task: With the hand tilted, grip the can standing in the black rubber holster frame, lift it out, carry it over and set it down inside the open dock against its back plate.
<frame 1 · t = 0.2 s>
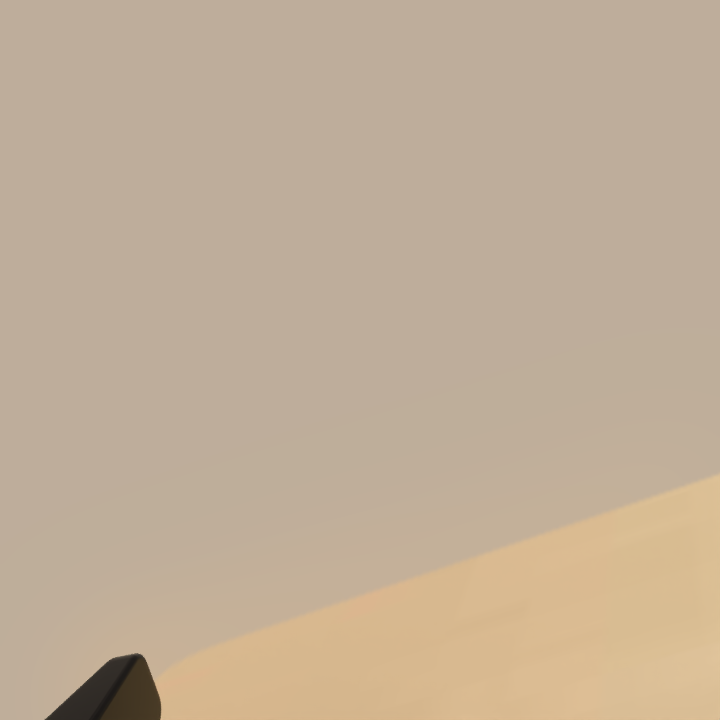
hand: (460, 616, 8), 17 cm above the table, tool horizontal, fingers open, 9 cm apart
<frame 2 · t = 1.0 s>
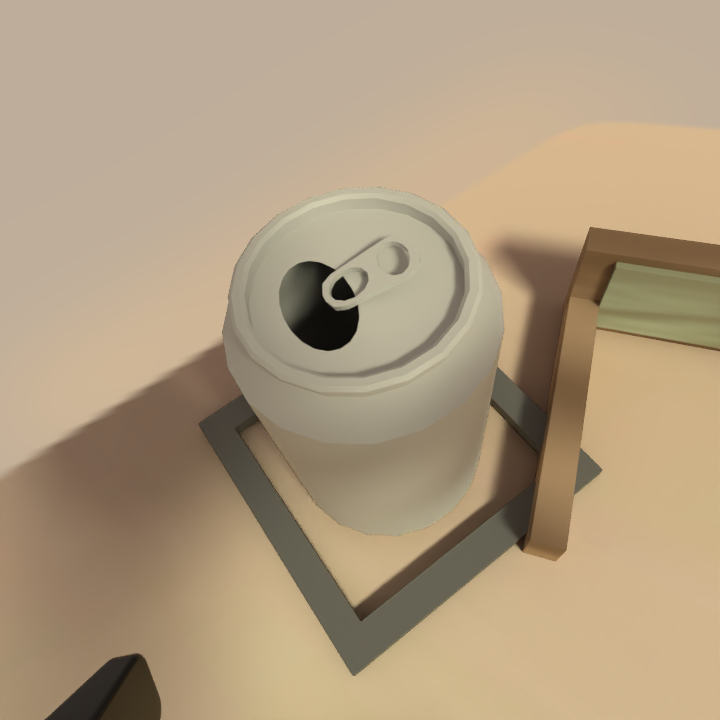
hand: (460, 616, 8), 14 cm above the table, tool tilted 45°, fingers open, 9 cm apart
holster frame: (388, 450, 24), on the table
dock: (707, 455, 22), on the table
can: (388, 452, 24), resting in holster frame
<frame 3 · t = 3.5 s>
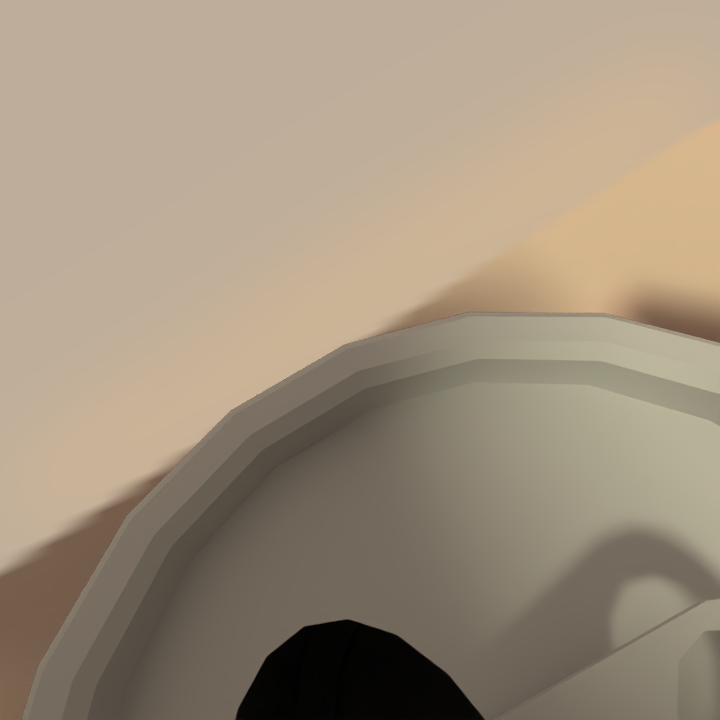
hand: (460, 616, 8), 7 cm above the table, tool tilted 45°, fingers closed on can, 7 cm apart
can: (463, 706, 13), resting in holster frame, touching gripper
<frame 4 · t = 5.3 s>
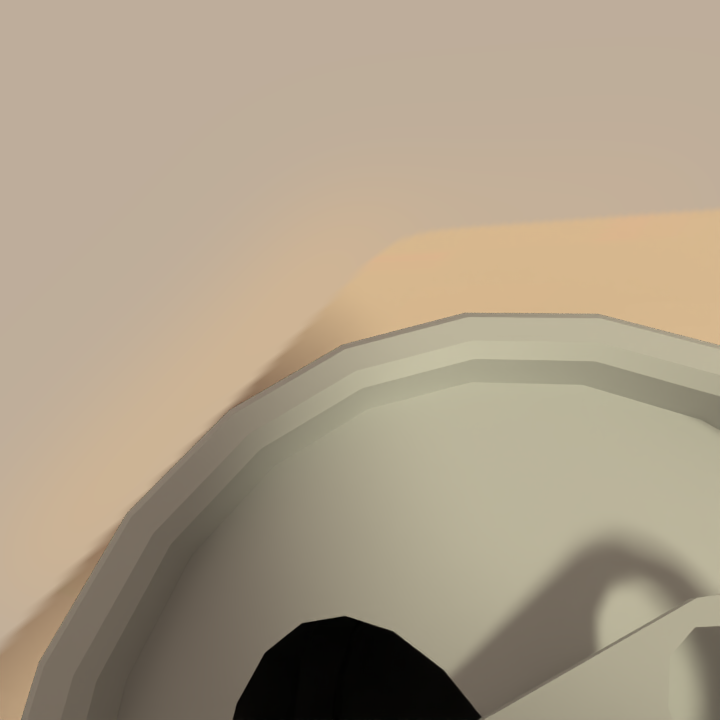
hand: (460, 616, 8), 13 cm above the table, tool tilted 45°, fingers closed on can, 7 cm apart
can: (461, 704, 13), point 6 cm above the table, touching gripper
when the fingers open (8 cm above the table, at t = 7.2 s): can drops 2 cm, resting in dock.
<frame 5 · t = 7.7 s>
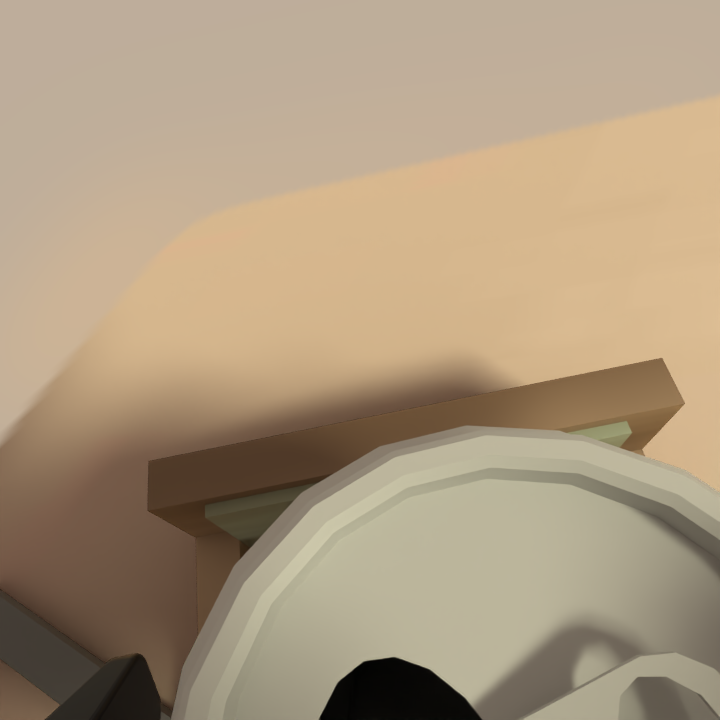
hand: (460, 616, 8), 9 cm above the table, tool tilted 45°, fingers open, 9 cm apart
dock: (460, 701, 15), on the table
can: (463, 709, 15), resting in dock
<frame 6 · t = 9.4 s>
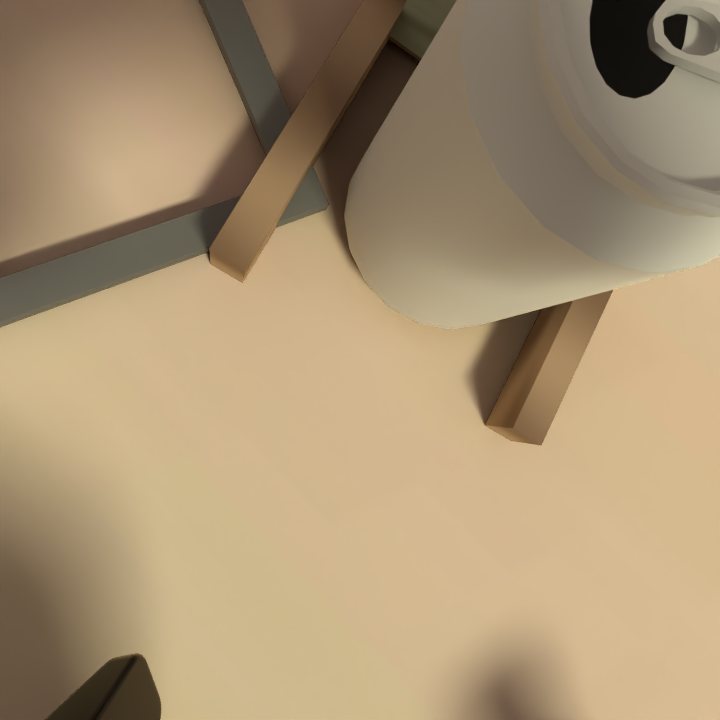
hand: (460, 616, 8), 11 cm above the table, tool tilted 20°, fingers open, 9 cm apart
holster frame: (83, 96, 18), on the table
dock: (440, 225, 21), on the table
can: (436, 232, 21), resting in dock
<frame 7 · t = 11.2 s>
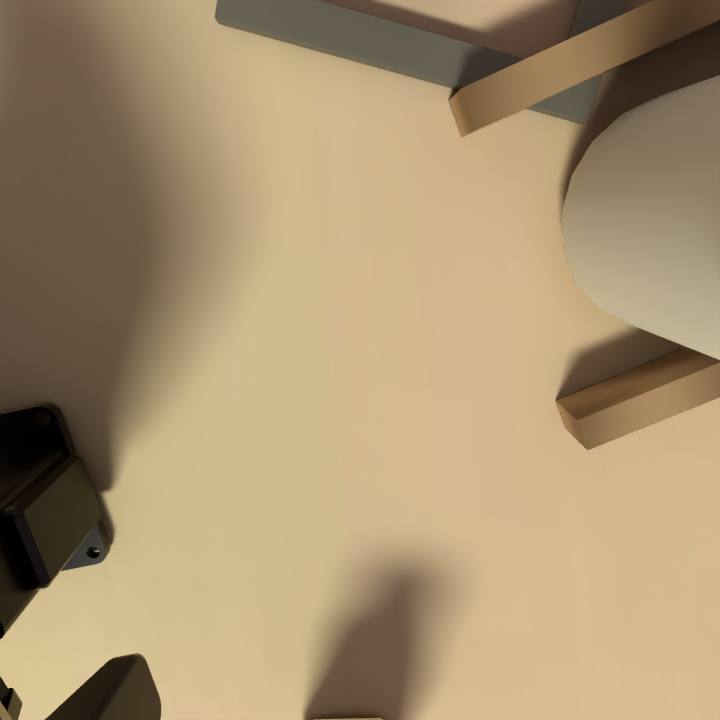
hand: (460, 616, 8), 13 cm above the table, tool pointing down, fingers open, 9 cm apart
dock: (664, 212, 19), on the table
can: (655, 215, 20), resting in dock
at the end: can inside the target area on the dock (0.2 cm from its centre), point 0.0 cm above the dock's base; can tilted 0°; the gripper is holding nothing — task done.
